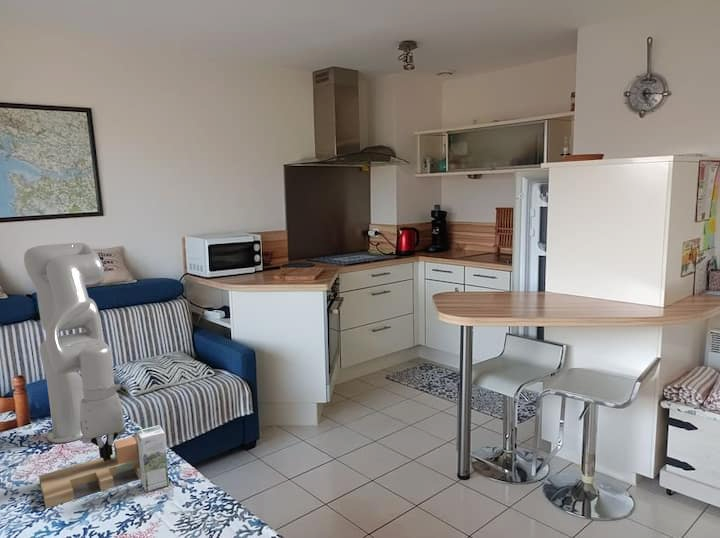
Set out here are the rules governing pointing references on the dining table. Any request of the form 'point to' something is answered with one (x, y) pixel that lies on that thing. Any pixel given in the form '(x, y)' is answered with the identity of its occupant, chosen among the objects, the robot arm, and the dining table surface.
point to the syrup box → (152, 458)
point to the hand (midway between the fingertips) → (106, 458)
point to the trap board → (87, 479)
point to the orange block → (125, 450)
